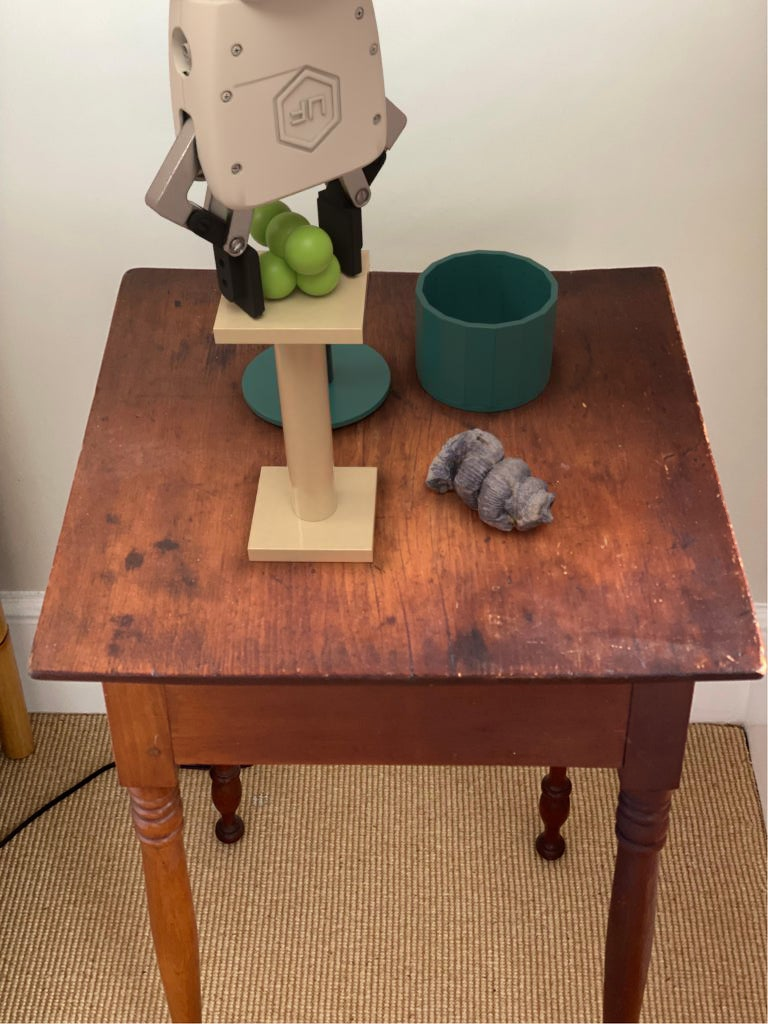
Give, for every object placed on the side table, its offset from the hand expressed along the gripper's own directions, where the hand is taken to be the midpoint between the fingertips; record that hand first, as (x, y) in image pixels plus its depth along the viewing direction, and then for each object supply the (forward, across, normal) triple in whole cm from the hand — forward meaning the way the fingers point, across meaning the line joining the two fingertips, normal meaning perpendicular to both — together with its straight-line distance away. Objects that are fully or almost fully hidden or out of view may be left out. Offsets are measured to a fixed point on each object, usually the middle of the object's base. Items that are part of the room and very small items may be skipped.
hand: (293, 282), depth 63 cm
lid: (+18, +8, +12) cm, 23 cm away
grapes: (0, 0, 0) cm, 0 cm away
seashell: (+19, +10, -6) cm, 22 cm away
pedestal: (+18, 0, 0) cm, 18 cm away
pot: (+18, +19, +6) cm, 27 cm away
